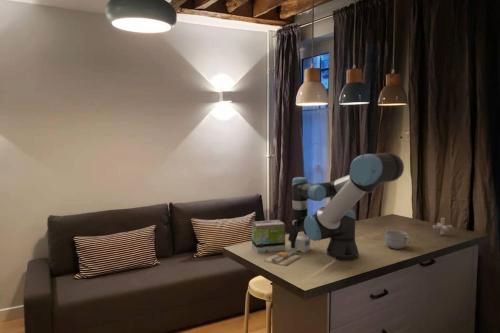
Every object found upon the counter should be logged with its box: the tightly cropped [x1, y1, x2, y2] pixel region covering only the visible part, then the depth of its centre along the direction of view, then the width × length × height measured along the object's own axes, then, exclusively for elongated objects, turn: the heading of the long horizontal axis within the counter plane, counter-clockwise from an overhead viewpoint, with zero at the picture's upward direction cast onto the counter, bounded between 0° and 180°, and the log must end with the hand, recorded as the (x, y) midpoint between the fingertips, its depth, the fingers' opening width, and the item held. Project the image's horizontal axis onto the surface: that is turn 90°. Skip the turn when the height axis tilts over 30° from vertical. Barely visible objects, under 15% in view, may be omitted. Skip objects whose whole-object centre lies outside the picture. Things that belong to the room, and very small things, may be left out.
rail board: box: [263, 250, 302, 267], centre depth 182 cm, size 12×14×3 cm
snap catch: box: [277, 251, 288, 257], centre depth 182 cm, size 4×3×1 cm
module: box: [289, 235, 311, 253], centre depth 195 cm, size 8×6×7 cm
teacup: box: [384, 229, 412, 250], centre depth 198 cm, size 14×11×8 cm
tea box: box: [251, 219, 286, 254], centre depth 198 cm, size 15×10×15 cm
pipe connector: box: [432, 217, 453, 235], centre depth 218 cm, size 10×10×10 cm
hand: (300, 250), depth 196 cm, fingers open, 12 cm apart
